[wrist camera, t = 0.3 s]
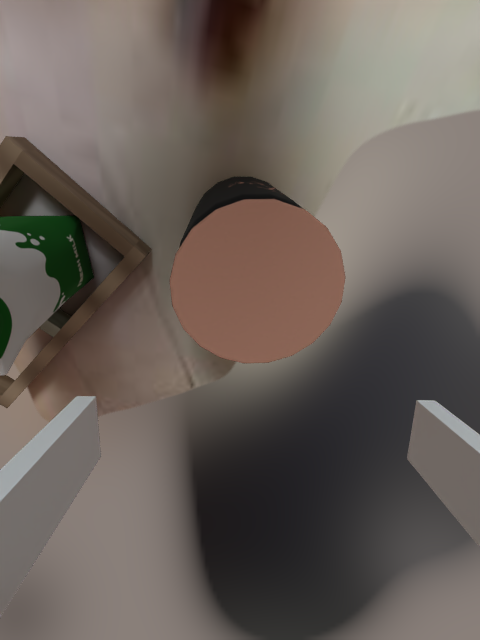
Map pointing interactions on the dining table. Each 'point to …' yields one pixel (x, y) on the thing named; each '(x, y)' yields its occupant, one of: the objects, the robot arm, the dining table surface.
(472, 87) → the dining table surface
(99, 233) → the walnut slot rack
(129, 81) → the dining table surface
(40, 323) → the fresh milk carton
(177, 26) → the dining table surface
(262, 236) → the coffee jar
